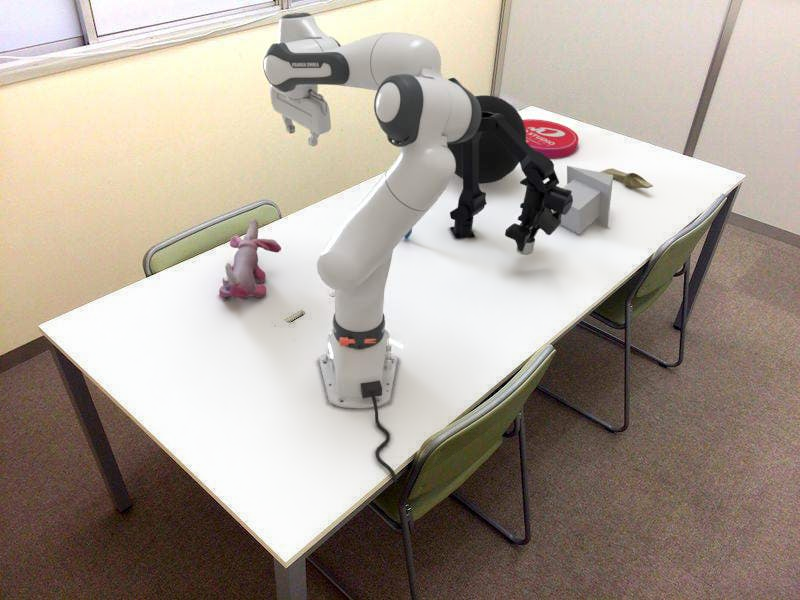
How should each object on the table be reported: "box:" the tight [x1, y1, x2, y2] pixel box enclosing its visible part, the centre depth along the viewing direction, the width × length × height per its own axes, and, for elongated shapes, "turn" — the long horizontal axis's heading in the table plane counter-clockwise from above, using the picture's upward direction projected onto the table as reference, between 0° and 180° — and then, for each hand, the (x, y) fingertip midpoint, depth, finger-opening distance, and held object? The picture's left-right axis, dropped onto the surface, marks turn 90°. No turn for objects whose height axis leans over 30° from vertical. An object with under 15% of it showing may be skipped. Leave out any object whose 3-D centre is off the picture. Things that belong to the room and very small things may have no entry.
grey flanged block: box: [552, 165, 614, 235], centre depth 214 cm, size 17×24×18 cm
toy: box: [218, 218, 282, 301], centre depth 179 cm, size 19×24×15 cm
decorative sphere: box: [447, 94, 526, 185], centre depth 230 cm, size 30×30×30 cm
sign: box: [522, 118, 579, 159], centre depth 266 cm, size 30×4×30 cm
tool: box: [601, 167, 654, 189], centre depth 240 cm, size 22×6×5 cm, turn 26°
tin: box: [515, 236, 536, 256], centre depth 195 cm, size 5×5×4 cm
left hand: (301, 138), depth 165 cm, fingers open, 8 cm apart
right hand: (524, 247), depth 196 cm, fingers closed on tin, 5 cm apart
